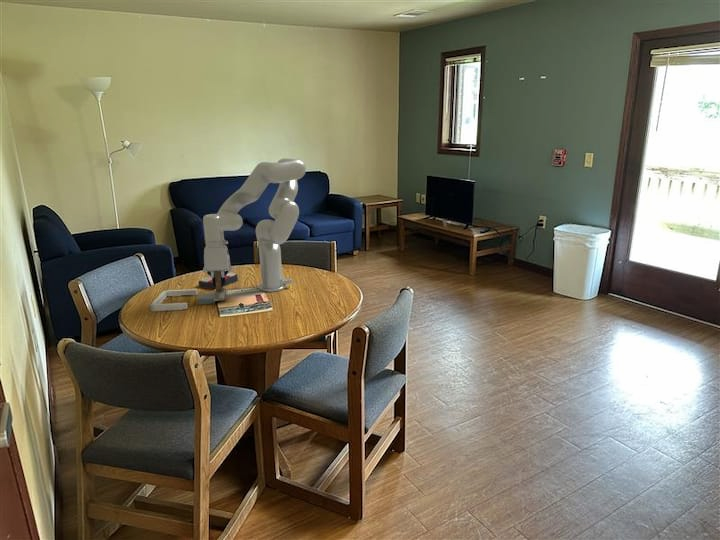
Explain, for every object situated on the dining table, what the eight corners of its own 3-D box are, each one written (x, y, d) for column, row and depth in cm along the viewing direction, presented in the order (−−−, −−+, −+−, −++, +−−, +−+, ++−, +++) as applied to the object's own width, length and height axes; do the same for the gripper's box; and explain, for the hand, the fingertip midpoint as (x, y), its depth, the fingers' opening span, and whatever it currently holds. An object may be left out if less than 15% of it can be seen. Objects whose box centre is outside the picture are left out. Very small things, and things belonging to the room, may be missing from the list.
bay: (197, 294, 222) (196, 288, 222) (186, 309, 204) (186, 303, 203) (164, 295, 221) (163, 290, 221) (150, 311, 203) (149, 305, 202)
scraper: (226, 294, 217) (224, 266, 214) (223, 300, 210) (220, 271, 206) (217, 294, 217) (214, 267, 213) (214, 300, 209) (211, 272, 206)
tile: (217, 298, 217) (217, 292, 217) (214, 303, 211) (214, 298, 210) (201, 299, 217) (201, 293, 216) (198, 304, 210) (197, 299, 209)
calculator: (197, 279, 232) (220, 270, 244) (199, 288, 233) (221, 278, 246) (214, 283, 227) (237, 272, 239) (216, 291, 228) (238, 281, 240)
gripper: (236, 241, 211) (239, 282, 216) (197, 242, 210) (202, 283, 215) (233, 245, 204) (237, 287, 209) (193, 246, 203) (198, 289, 208)
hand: (219, 285), depth 212 cm, fingers closed on scraper, 2 cm apart
